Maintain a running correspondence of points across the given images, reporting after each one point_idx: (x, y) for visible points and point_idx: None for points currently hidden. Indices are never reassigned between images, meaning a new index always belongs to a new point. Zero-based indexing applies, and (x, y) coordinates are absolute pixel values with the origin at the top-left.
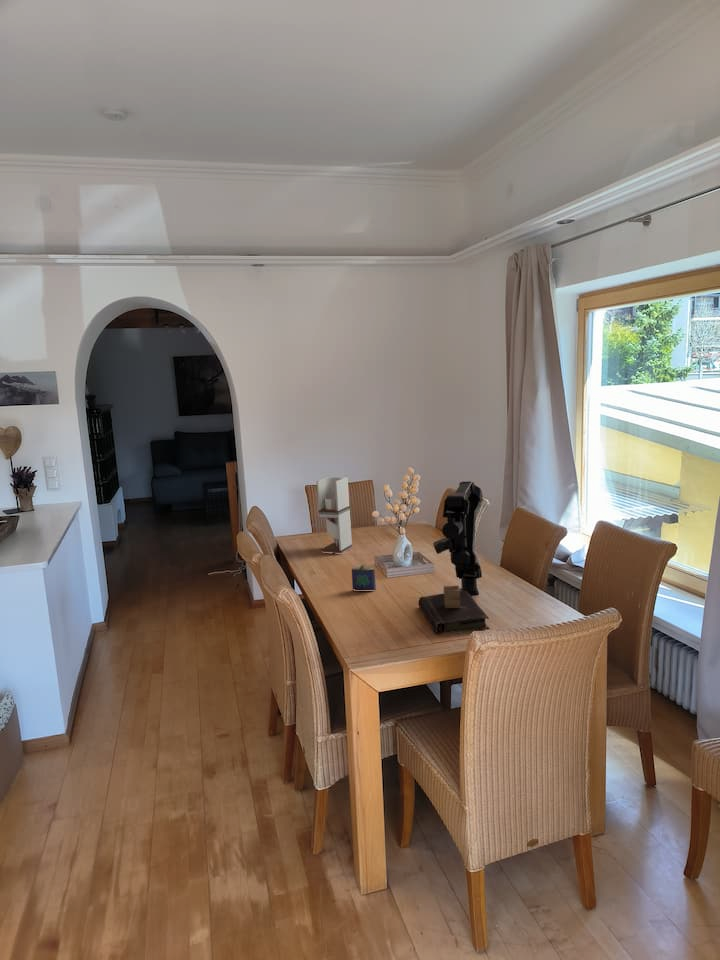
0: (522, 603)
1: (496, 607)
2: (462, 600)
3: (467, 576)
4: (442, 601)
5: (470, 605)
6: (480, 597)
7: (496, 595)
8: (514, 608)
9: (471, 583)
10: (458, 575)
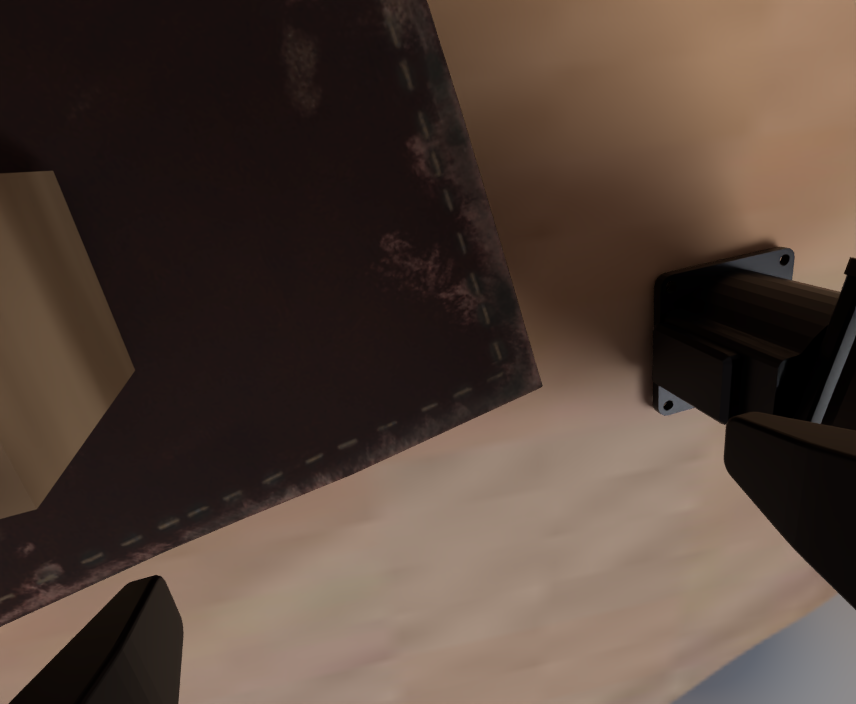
0: (479, 692)
1: (392, 573)
2: (257, 386)
3: (820, 390)
4: (175, 129)
5: (100, 499)
6: (598, 430)
7: (629, 525)
8: (384, 675)
9: (721, 407)
10: (56, 666)
